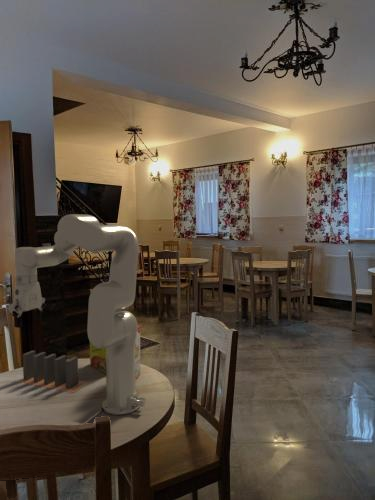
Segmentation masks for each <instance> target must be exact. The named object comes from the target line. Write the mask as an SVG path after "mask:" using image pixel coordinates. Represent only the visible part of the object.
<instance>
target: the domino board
mask: <svg viewBox="0 0 375 500" xmlns="http://www.w3.org/2000/svg"><path fill="white" fill-rule="evenodd" d="M17 383H19V384H20V383H21V384H26V385H31V386H37V387H42V388H45V389H51V390H52V389H53V390H57V391H62V392H68V393H73V394H74V393H76V392H78V391H79V390H80V389H81V388H83V387H85V386H87V385H88V384H89V382H87V381H80V380H78V384H77V385H75V386H74V387H72V388H70V389H67V388H66V383H64V384H63V385H61V386H59V387H56V386H55V381H54V382H52V383H50V384H48V385H46V384H44V379H43V380H41V381H40V382H38V383H36V382H34V377H33V378H31V379H29V380H27V381H25V380H24V378H22V379H20V380H18V381H17Z"/></svg>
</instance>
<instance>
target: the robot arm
mask: <svg viewBox="0 0 375 500" xmlns="http://www.w3.org/2000/svg"><path fill="white" fill-rule="evenodd" d="M53 241H54V244H53V245H51V246H38V247H33V246H21V247H16V248H15V250H14V265H15V266H14V270H15V271H14V272H15V273H14V274H15V278H14V280H13V281H14V282H15V285H14V290H13V302H12V303H11V304H9V306H8V307H7V310H8V312H9V314H10V315H11V316H12V318H13V322H14V328H19V329H21V328H23V317H22V314H23V313H24V312H28V311H31V310H33V320H34V321H35V322H42V311H43V308H44V305H45V302H46V298H45V297H42V291H41V286H40V282H39V281H38V270H37V269H39V268H45V267H46V268H47V267H54V266H55V267H56V266H57V265H59V264H61V263H63V262H65V261H67V260H68V259H70V258H71V257H72V255H73V253H74V251H75V250H76V249H78V248H80V249H82V250H84V251H87V252H90V253H96V254H97V253H106V252H115V254H114V256H113V258H112V260H111V261H110V262H111V263H110V267H109V278H108V281H104V282H101V283H99V284H96V285H95V286H94V287H93V289H92V290H91V292H90V294H89V297H88V306H87V307H88V310H87V311H88V312H87V326H86V327H87V328H86V329H87V331H86V332H87V338H88V341H89V344H90V343H91V344H92V345H93V346H94V347H95V348H97V349H105V348H107V350H106V373H105V378H106V380H105V381H106V383H105V384H106V388H105V389H106V399H104V400H103V401H102V404H101V406H102V407H101V409H102V411H104V412H105V413H106V414H110V415H114V416H115V415H116V416H118V415H119V416H121V415H127V414H130V413H133V412H135V411H137V410H139V408H140V407H142V408H145V407H146V397H143V396H140V395H139V390H136V388H137V387H136V385H137V384H136V382H137V380H136V381H135V343H136V336H137V329H138V326H139V325H138V321H137V318H136V316H135V315H134V314H133V313H132V312H130V311H127V310H124V309H126V308H129V307H131V306H132V305H133V303H135V299H136V291H137V289H136V288H137V273H138V272H137V270H138V262H139V255H140V254H139V253H140V243H139V239H138V236H137V235H136V233H135V232H134V230H132V229H131V228H129V227H127V226H125V225H121V224H100V221H99V219H97V218H96V217H95V216H93V215H91V214H86V213H85V214H83V213H81V214H79V213H78V214H77V213H75V214H74V213H72V214H65V215H64V216H62V217H61V218H60V220H59V221H58V223H57V231H56V232H55V233H54V236H53Z"/></svg>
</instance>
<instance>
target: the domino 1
mask: <svg viewBox="0 0 375 500" xmlns="http://www.w3.org/2000/svg"><path fill="white" fill-rule="evenodd" d="M36 352H37V351H36V350H31V351H27V352H25V353H23V354H22V371H23V372H22V374H23V379H24V380H25V381H27V380H29V379H31V378H33V377H34V374H33V356H34V355H37V353H36Z"/></svg>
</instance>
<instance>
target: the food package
mask: <svg viewBox="0 0 375 500" xmlns="http://www.w3.org/2000/svg"><path fill="white" fill-rule="evenodd" d="M106 350H107V348H105V349H97V348H95V347H94V346H93V345H92V344H91V343H90V342H89V359H90V360H89V363H90V366H92V367H93V368H96V369H97V370H98V371H99V370H100V371H101V372H103V373H105V374H106Z"/></svg>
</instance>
